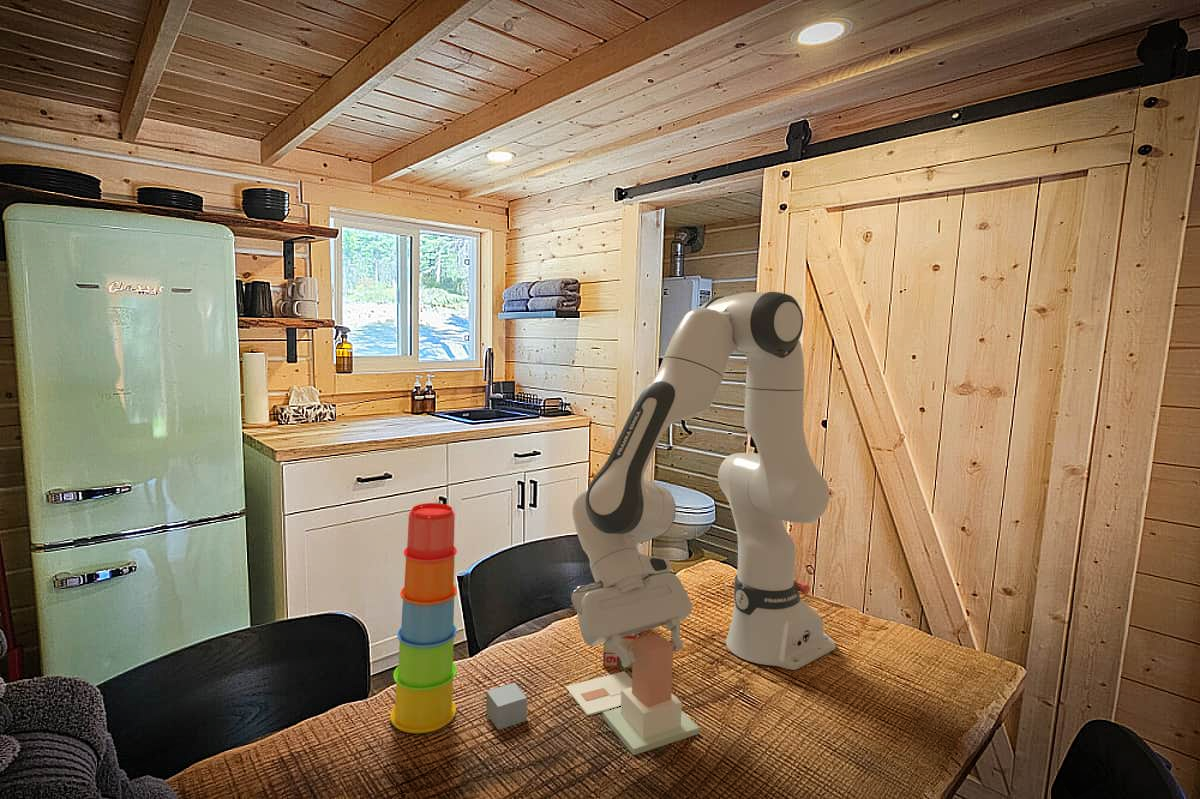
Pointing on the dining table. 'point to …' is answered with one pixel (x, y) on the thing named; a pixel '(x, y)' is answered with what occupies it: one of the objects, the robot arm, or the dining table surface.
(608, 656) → the stack of blocks
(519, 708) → the slate brick
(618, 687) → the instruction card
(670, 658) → the terracotta brick
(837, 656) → the dining table surface
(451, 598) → the stacking cups
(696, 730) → the tower base
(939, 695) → the dining table surface
